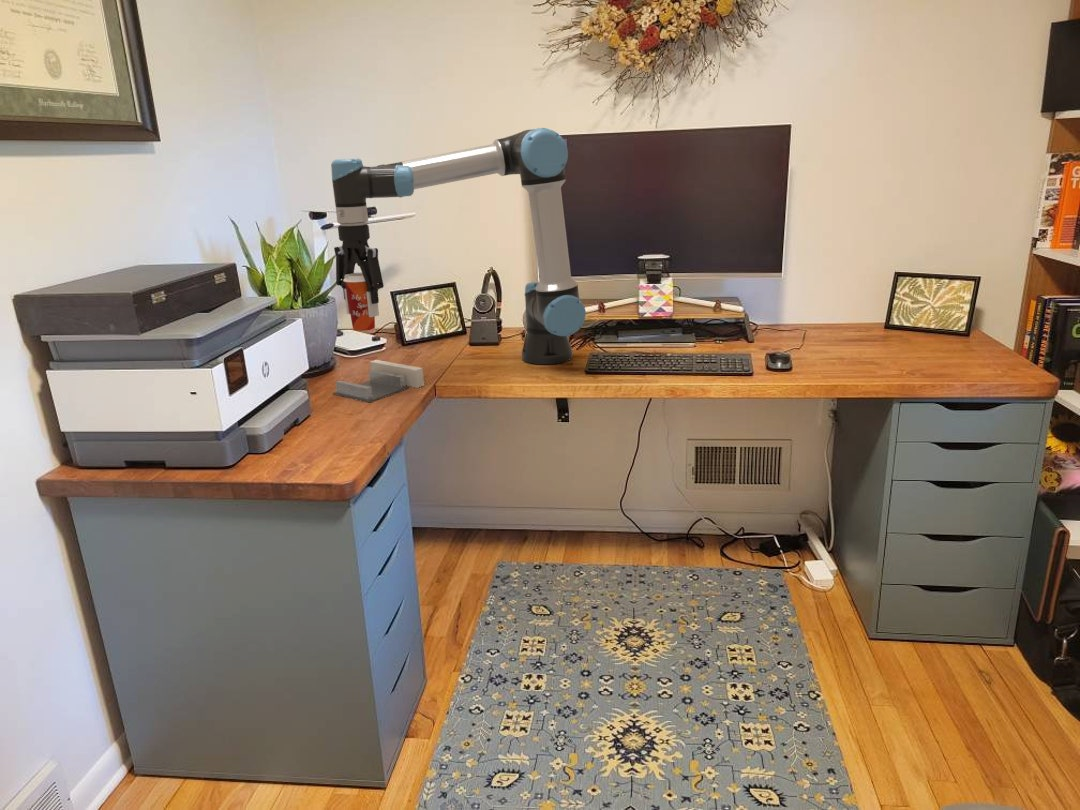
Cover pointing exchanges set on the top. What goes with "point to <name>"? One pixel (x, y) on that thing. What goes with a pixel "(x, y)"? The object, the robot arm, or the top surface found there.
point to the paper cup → (358, 302)
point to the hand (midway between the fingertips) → (362, 314)
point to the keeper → (372, 386)
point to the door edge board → (401, 372)
